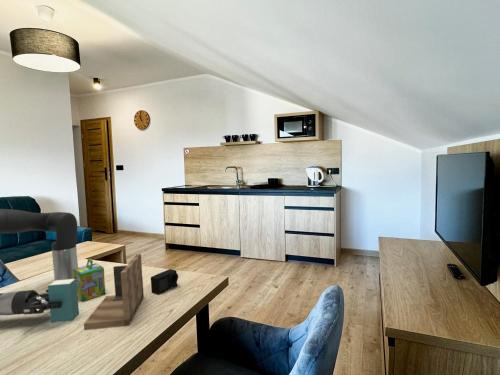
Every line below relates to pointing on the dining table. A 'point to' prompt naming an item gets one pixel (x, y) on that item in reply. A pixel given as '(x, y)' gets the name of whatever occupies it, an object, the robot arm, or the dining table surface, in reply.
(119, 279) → the walnut shelf
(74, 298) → the teal hardcover book
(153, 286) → the digital camera
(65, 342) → the dining table surface
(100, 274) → the chalk box
